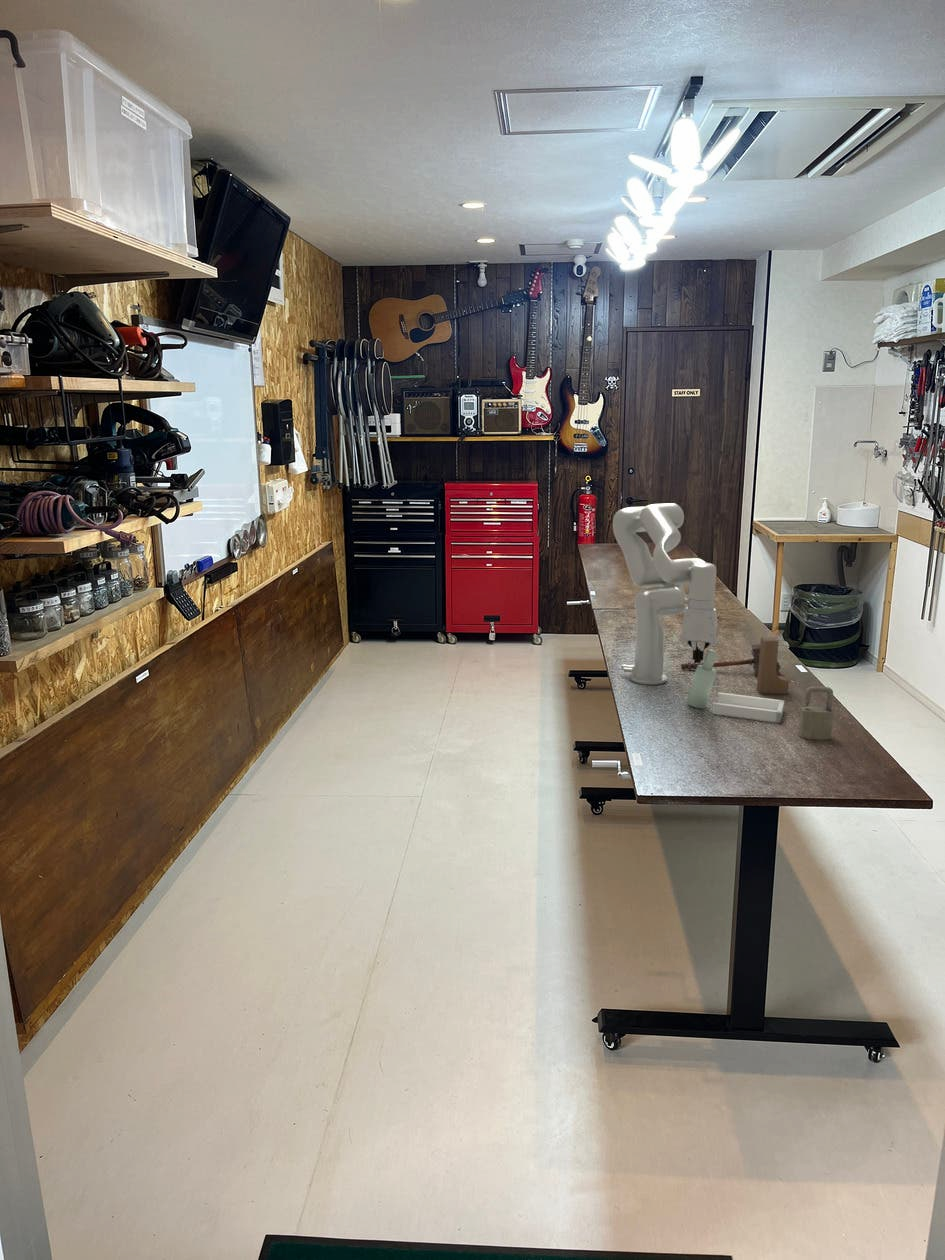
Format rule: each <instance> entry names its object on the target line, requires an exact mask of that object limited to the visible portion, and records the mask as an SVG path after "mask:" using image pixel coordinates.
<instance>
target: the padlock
mask: <svg viewBox="0 0 945 1260" xmlns="http://www.w3.org/2000/svg"><path fill="white" fill-rule="evenodd" d="M812 692H815V693H816V692H817V693H818V692H819V693H827V697H826V705H825V707H820V706H809V704H810V702H811V696H812ZM804 695H805V696H804V703H805V707H801V711H800V720H799V729H798V730H799V731H798V735H799V737H800V738H802V739H807V740H808V739H809V740H830V739H832V730H833V721H834V710H833V708H832V707H833V698H834V691H833V689H832V688H831V687H828V686H815V685H813V686H810V687H808V688H806V690H805V694H804Z"/></svg>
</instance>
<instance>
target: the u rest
mask: <svg viewBox="0 0 945 1260" xmlns="http://www.w3.org/2000/svg"><path fill="white" fill-rule="evenodd" d="M784 709H785V700H784V699H783V700H782V699H776V698H767V697H761V696H760V697H758V696H751V695H744V694H735V693H728V692H727V693H726V692H718V696H717V702H713V705H712V715H714V714H718V715H717V716H722V715H725V716H724V717H729V716H730V717H731V718H737V719H738V718H739V719H745V720H752V721H753V720H754V721H760V722H766V723H774V724H781V721H782V718H783V714H784V711H785V710H784ZM730 717H729V718H730Z"/></svg>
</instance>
